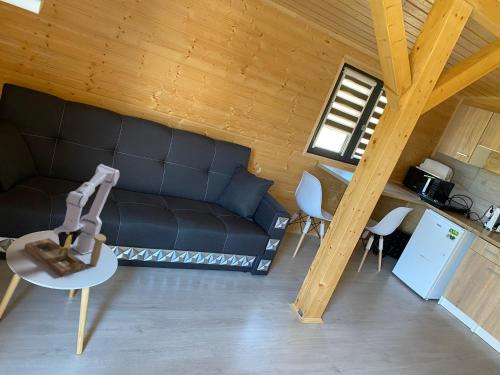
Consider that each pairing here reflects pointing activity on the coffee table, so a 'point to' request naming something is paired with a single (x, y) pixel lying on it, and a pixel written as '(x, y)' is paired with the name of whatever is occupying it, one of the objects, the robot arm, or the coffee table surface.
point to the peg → (66, 245)
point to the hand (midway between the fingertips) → (66, 244)
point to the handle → (97, 248)
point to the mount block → (54, 257)
